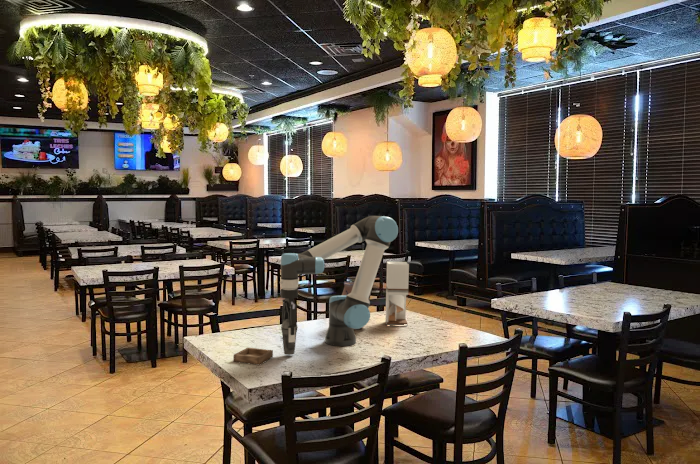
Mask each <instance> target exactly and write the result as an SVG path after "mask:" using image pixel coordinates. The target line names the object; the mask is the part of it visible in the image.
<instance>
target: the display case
mask: <svg viewBox="0 0 700 464" xmlns="http://www.w3.org/2000/svg"><path fill="white" fill-rule="evenodd" d="M409 271H410V264H409V263H408V262H407V261H386V281H385V282H386V285H385V286H386V288H385V291H386V292H385V324H387V325H404V324H407V325H408V321H407V319H406V318H407V317H406V314H407V313H406V312H407V309H406V308H407V296H408V295H409V283H410V282H409V279H410V277H409V276H410V275H409V273H410V272H409ZM387 325H386V326H387Z"/></svg>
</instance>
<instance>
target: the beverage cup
mask: <svg viewBox="0 0 700 464" xmlns="http://www.w3.org/2000/svg"><path fill="white" fill-rule="evenodd" d="M288 326H289V318H288V319H286V320H284V321H282V323H281V327H280V328H281V333H282V345H283V354H284V355H286V356H288V355H289V356H291V355H294V354H295V351H296V341H297V332H298V326H297V327H295V342H289V328H288Z"/></svg>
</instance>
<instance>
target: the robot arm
mask: <svg viewBox="0 0 700 464" xmlns="http://www.w3.org/2000/svg"><path fill="white" fill-rule="evenodd" d="M398 233H399V227H398V225H397V221H395V220H394V219H393V218H392V217H389V216H385V215H383V216H382V215H369V216H366V217H365V218H363V219H360V220H359V221H357V222H356V223H353V224H352V225H350V228H348V229H346V230H344V231H342V232H341V233H338V234H336V235H334V236H333V237H330V238H327V240H325V241H323V242H321V243H319V244H317V245H315V246H313V247H312V248H310V249H307V250H304V251H303V252H301V253H294V252H293V253H292V252H288V253H286V252H285V253H282V254H281V256H280V281H279V284H280V288H281V289H280V297H281V298H282V313H281V314H282V315H281V316H282V317H281V320H282V322H283V321H284V320H286V319H288V318H289V326H288V328H289V342H295V327H298V324H297V323H298V321H297V318H298V317H297V304H296V302H295V299H297V298H299V289H298V288H299V276H300V275H301V276H302V275H317V274H322V273H323V272H324V270H325V260H326V259H328V258H329V257H331V256H333V255H335V254H338V253H340V252H341V251H343V250H345V249H347V248H348V247H350V246H353V245H355V244H356V243H360V244H361V243H363V242H364V241H365V243H366V247H365V250H364V253H363V257H362V258H361V262H360V264H359V268H358V271H357V273H356V277H355V279H354V281H355V282H354V281H353V282H354V285H353V288H352V291H351V293H350V294H348V295H342V294H341V295H332V296H330V297H329V302H328V328H327V331H326V334H325V337H324V338H325V339H324V342H325V344H327V345H330V346H335V347H336V346H337V347H347V346H352V345H355V344H357V337H356V333H355V331H354V330H359V329H362V328H364V327H365V326H366V325H367V324H368V323H369V321H370V318H371V312H370V309H369V308H370V305H371V302H370V300H369V299H368V298H369V295H370V292H371V293H372V288H373V285H374V282H375V280H376V278H377V273H378V270H379V267H380V265H381V262H382V258H383V255H384V253H385V250H387V249H389V247H390V245H391V242H393V241H394V240H396V238H397V237H398ZM370 296H371V295H370ZM353 328H354V329H353ZM295 343H296V342H295Z"/></svg>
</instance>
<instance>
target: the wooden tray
mask: <svg viewBox="0 0 700 464" xmlns="http://www.w3.org/2000/svg"><path fill="white" fill-rule="evenodd" d="M273 354H274V350H273V349H265V348H255V347H246V348H244V349H242V350H240V351H239V352H238V351H237V352H236V353H233V361H232V362H234V363H239V362H240V363H241V364H248V363H250V364H249V365H256V364H259V365H258V366H260V364H261V365H262V364H264V363H266V362H267V361H268V360H270V359H272V358H274V355H273ZM265 361H266V362H265ZM263 362H264V363H263Z"/></svg>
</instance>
